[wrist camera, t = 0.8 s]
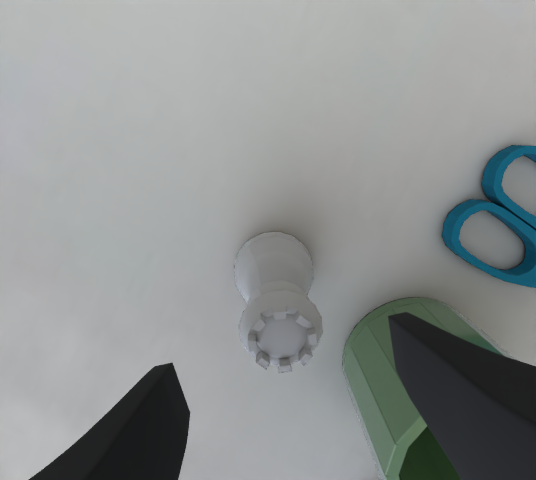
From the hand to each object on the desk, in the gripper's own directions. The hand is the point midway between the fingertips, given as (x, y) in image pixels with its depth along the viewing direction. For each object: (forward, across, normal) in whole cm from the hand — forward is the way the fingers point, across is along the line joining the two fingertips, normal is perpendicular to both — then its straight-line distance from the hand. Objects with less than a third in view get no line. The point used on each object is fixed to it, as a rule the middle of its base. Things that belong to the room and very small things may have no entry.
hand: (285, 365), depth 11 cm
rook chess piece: (+10, 0, 0) cm, 10 cm away
